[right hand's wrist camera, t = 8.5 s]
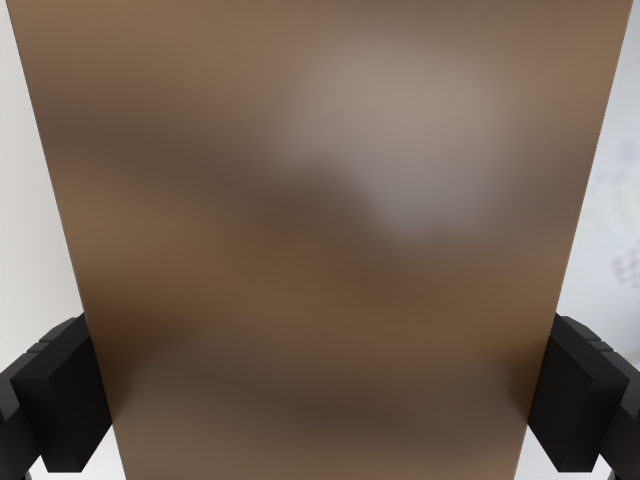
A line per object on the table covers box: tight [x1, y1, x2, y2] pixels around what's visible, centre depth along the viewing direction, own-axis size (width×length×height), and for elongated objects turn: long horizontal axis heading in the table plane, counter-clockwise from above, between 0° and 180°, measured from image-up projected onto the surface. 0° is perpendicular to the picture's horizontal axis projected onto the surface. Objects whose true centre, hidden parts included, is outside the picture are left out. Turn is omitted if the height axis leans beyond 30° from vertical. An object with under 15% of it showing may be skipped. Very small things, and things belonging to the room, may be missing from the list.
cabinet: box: [6, 0, 633, 480], centre depth 12 cm, size 20×11×10 cm, turn 0°
